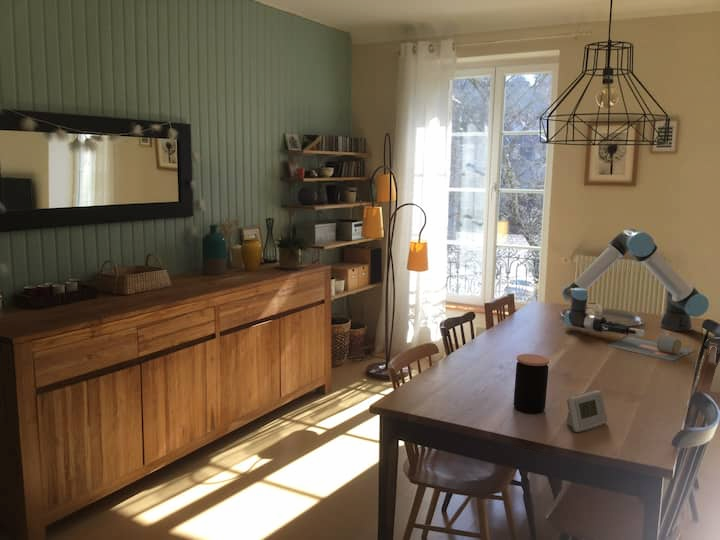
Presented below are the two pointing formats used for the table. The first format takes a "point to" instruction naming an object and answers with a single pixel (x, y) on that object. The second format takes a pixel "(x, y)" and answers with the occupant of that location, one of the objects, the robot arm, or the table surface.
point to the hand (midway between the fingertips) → (643, 333)
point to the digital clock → (586, 411)
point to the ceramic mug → (668, 344)
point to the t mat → (647, 348)
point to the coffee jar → (531, 383)
